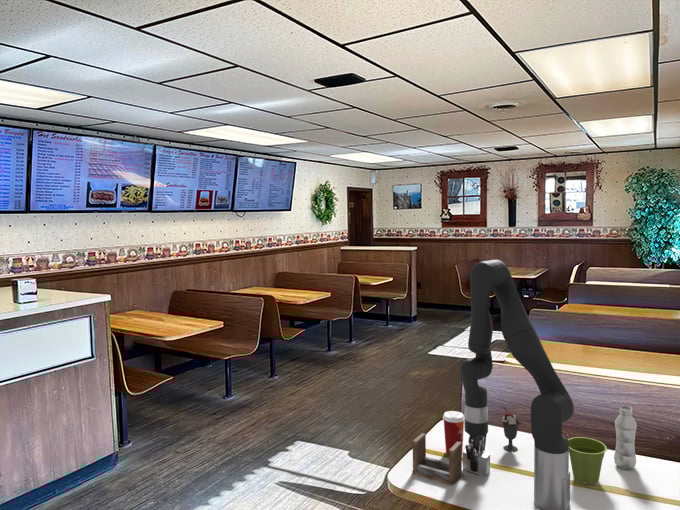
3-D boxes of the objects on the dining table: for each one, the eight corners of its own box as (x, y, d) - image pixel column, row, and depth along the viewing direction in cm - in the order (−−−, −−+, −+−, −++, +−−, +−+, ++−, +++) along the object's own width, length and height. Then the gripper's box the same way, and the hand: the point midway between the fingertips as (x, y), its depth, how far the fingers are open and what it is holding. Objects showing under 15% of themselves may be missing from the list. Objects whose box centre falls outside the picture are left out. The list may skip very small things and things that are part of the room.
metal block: (490, 471, 171) (490, 453, 170) (486, 475, 168) (486, 458, 167) (466, 464, 175) (466, 447, 175) (462, 469, 172) (462, 452, 172)
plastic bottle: (613, 469, 170) (614, 410, 168) (613, 460, 176) (614, 402, 174) (636, 473, 167) (637, 413, 165) (635, 464, 173) (637, 405, 171)
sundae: (496, 447, 188) (496, 406, 186) (510, 443, 190) (511, 403, 189) (509, 454, 182) (509, 413, 180) (524, 450, 185) (524, 409, 183)
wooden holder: (462, 474, 169) (462, 441, 168) (452, 485, 163) (452, 451, 162) (422, 463, 177) (422, 432, 176) (412, 473, 170) (411, 441, 170)
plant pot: (574, 466, 172) (575, 433, 171) (612, 479, 164) (613, 444, 163) (558, 479, 165) (558, 445, 164) (597, 493, 156) (597, 457, 155)
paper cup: (465, 458, 180) (465, 419, 179) (442, 457, 181) (442, 418, 180) (464, 448, 187) (464, 410, 186) (443, 447, 189) (442, 409, 188)
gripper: (480, 428, 162) (480, 480, 164) (494, 412, 174) (494, 462, 175) (457, 423, 166) (457, 474, 168) (472, 408, 178) (472, 456, 180)
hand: (476, 468), depth 172 cm, fingers closed on metal block, 3 cm apart
